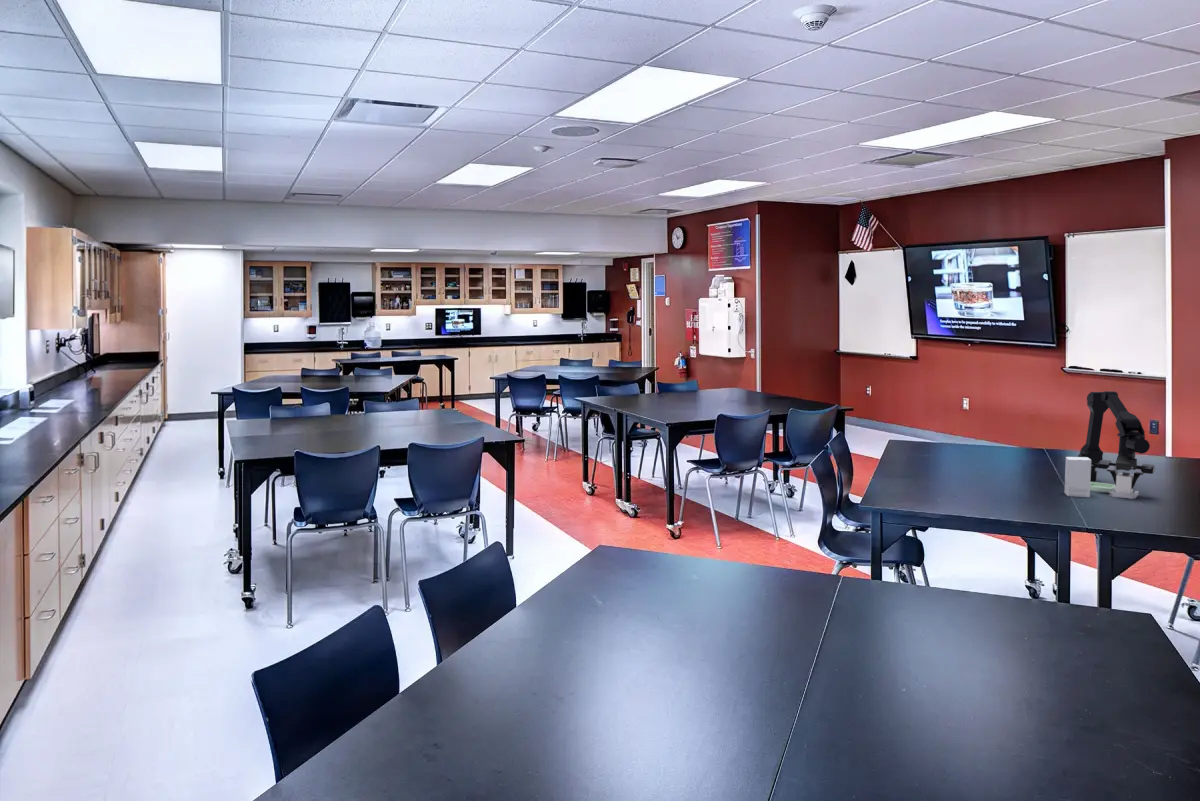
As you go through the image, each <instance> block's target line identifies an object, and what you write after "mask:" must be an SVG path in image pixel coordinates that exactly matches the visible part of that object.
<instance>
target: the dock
mask: <svg viewBox="0 0 1200 801" xmlns="http://www.w3.org/2000/svg"><path fill="white" fill-rule="evenodd" d="M1115 491H1116V489H1113V490H1112V491H1110V492H1109V494H1108V496H1109V497H1114V498H1121V499H1122V498H1124V499H1130V500H1135V499H1136V498H1137V497H1138V496H1139V490H1135V491H1133V494H1132V495H1131V494H1122V493H1115Z"/></svg>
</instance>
